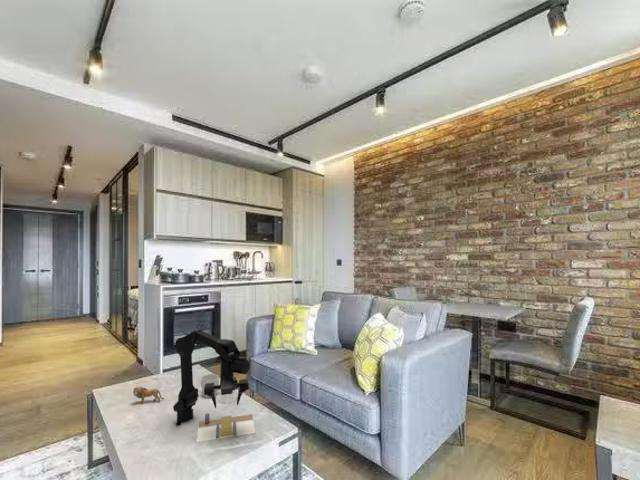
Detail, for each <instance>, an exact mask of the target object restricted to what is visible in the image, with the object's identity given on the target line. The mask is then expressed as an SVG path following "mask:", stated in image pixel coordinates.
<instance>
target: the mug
mask: <svg viewBox="0 0 640 480" xmlns="http://www.w3.org/2000/svg"><path fill="white" fill-rule="evenodd" d="M207 383H214V386H215V385H220V375H218V374H216V373H210V374H205V375H204V376H202V378H201V381H200V385H201V392H202V396H203V397H204V398H209V399H211V397H210V396H207V395H204V387H205V384H207ZM218 391H219V390H215V395H217V394H218Z"/></svg>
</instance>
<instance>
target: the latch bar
mask: <svg viewBox="0 0 640 480" xmlns="http://www.w3.org/2000/svg"><path fill="white" fill-rule="evenodd" d="M232 417H233V416H232V415H226V416H221V417H220V419H221V424H220V425H221V437H225V436H231V435H232Z"/></svg>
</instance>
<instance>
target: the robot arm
mask: <svg viewBox="0 0 640 480" xmlns="http://www.w3.org/2000/svg"><path fill="white" fill-rule="evenodd" d="M197 342H198V343H201V344H203V345H205V346H207V347H209V348H212V349H213V350H214V351H215V354H217V355H219V356H218V357H216V358H215V359H216V360H217V361H220V363H219V364H220V367H219V369H220V371H219V372H220V375H219V385H215V386H214V383H207V384H205V387H204V395H207V396H210V399H211V401H212V403H213V406H214V409H217V397H216V395H217V394H216V395H215V390H218V391H220V390H221V395H225V394H232V393H233V390H235V389H237V400H236V406H239V403H240V401H241V397H242V395H243V393H245V392H247V391H249V389H250V385H249V384H250V383H249V380H248V378H246V379H239V380H236V381H234V377H235V376H234V375H235V374H240V375H247V373H248V372H249V370H250V368H251V366H250V361H249V360H248V358H247V356H246V357H245V356H242V353H241V352H240V350H239V348H238V346H237V344H236V342H235V341H234V340H232V339H227V338H225V339H224V338H223V339H222V338H219V337H216V336H215V335H212V334H210V333H208V332H206V331H204V330H202V329H197V330H193V331H191V332H190V333H188V334H186V335H184V336H181V337H178V338H177V339H176V340H175V344H174V345H175V351H176V353H177V354H178V355H179V357H180V376H181V377H180V378H181V380H180V383H181V388H180V390H179V393H178V396H177V402H175V404H174V405H172V407H173V411H174V412H176V423H175V425H176V426H181V425H182V423H186V422H188V421H191V420H193V419H194V409H193V406H195V405H196V403H197V402H198V401H199V400H198V399H199V388H196V387H195V385H194V379H193V378H194V377H193V376H194V374H193V360H192V359H193V357H192V354H193V352H194V349H195V346H196V343H197ZM204 395H203V396H204Z"/></svg>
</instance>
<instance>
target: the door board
mask: <svg viewBox="0 0 640 480" xmlns="http://www.w3.org/2000/svg"><path fill="white" fill-rule="evenodd" d="M210 418H211V417H210V413H205V414H204V420H203V421H199V422H198V428H197V429H198V430H197V434H196V441H195V442H196V443H200V442H206V441H213V440H219V439H225V438H232V437H237V436H238V437H239V436H243V435H244V436H245V435H249V434H256V432H255V426H254V425H255V424H254V423H255V422H254V417H253V414H251V413H250V414H244V415H239V416H237V415H236V416H232V435H231V436H225V437H221V418H217V419H210Z"/></svg>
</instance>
